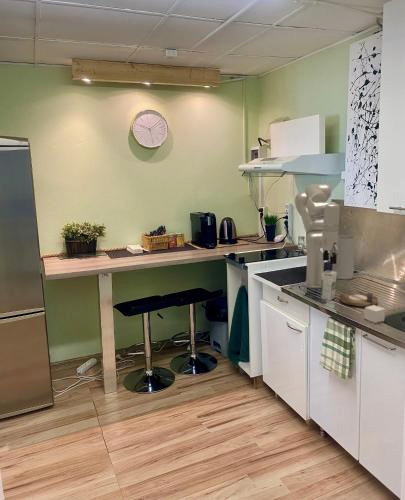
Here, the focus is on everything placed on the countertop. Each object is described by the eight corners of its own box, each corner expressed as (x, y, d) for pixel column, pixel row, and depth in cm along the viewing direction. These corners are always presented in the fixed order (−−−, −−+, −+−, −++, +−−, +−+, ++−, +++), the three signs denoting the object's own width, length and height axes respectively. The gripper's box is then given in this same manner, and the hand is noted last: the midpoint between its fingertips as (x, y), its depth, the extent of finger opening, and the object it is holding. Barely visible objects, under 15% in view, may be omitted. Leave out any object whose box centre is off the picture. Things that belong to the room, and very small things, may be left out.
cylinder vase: (327, 276, 260) (329, 236, 255) (343, 273, 265) (345, 234, 260) (342, 281, 249) (344, 240, 244) (357, 278, 254) (360, 237, 249)
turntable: (357, 292, 224) (357, 282, 223) (385, 302, 208) (386, 291, 207) (332, 298, 216) (332, 288, 215) (359, 308, 200) (360, 297, 199)
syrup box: (324, 295, 223) (325, 269, 220) (335, 298, 219) (336, 271, 216) (320, 298, 219) (321, 272, 216) (331, 300, 215) (332, 273, 212)
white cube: (372, 317, 192) (373, 305, 191) (384, 321, 187) (385, 308, 186) (364, 320, 189) (364, 307, 188) (375, 324, 184) (376, 311, 183)
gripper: (316, 226, 219) (315, 258, 223) (332, 231, 202) (330, 266, 206) (329, 225, 220) (328, 257, 224) (346, 230, 203) (344, 265, 207)
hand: (329, 261), depth 215 cm, fingers open, 7 cm apart
